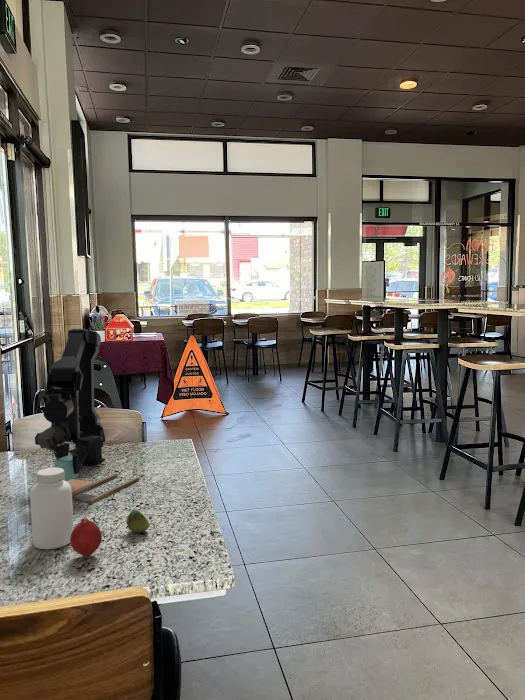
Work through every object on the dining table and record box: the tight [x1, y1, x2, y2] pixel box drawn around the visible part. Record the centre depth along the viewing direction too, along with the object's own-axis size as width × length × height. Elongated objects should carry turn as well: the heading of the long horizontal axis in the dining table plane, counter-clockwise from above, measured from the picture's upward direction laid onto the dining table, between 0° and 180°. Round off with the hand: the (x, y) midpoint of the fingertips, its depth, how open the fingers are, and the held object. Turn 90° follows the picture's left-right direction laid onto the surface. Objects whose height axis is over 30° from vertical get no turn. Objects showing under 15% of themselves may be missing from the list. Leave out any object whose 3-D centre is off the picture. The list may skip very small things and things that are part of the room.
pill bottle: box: [29, 467, 74, 550], centre depth 114 cm, size 8×8×15 cm
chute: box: [72, 473, 140, 504], centre depth 145 cm, size 8×18×1 cm, turn 154°
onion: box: [69, 517, 103, 558], centre depth 108 cm, size 6×6×8 cm
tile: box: [66, 478, 94, 492], centre depth 146 cm, size 8×8×1 cm
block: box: [54, 455, 80, 481], centre depth 145 cm, size 4×4×5 cm
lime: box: [126, 509, 150, 533], centre depth 119 cm, size 4×5×5 cm
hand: (70, 472), depth 146 cm, fingers closed on block, 4 cm apart
